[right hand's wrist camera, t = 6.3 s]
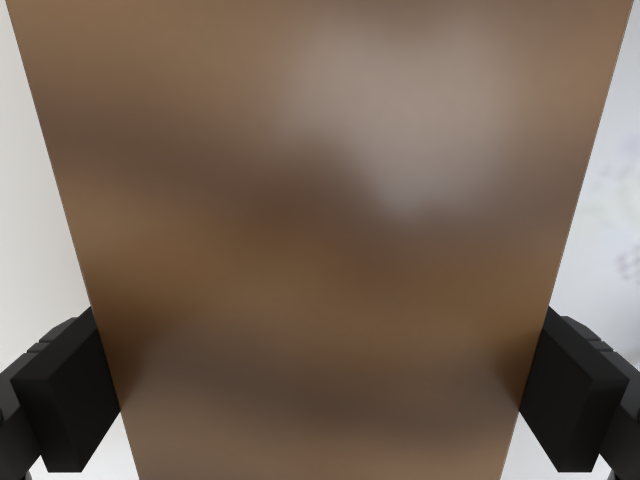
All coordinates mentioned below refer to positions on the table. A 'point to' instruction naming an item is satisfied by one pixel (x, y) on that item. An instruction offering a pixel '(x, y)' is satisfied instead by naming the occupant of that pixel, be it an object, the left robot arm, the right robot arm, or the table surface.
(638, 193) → the table surface
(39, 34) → the cabinet
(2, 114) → the table surface
